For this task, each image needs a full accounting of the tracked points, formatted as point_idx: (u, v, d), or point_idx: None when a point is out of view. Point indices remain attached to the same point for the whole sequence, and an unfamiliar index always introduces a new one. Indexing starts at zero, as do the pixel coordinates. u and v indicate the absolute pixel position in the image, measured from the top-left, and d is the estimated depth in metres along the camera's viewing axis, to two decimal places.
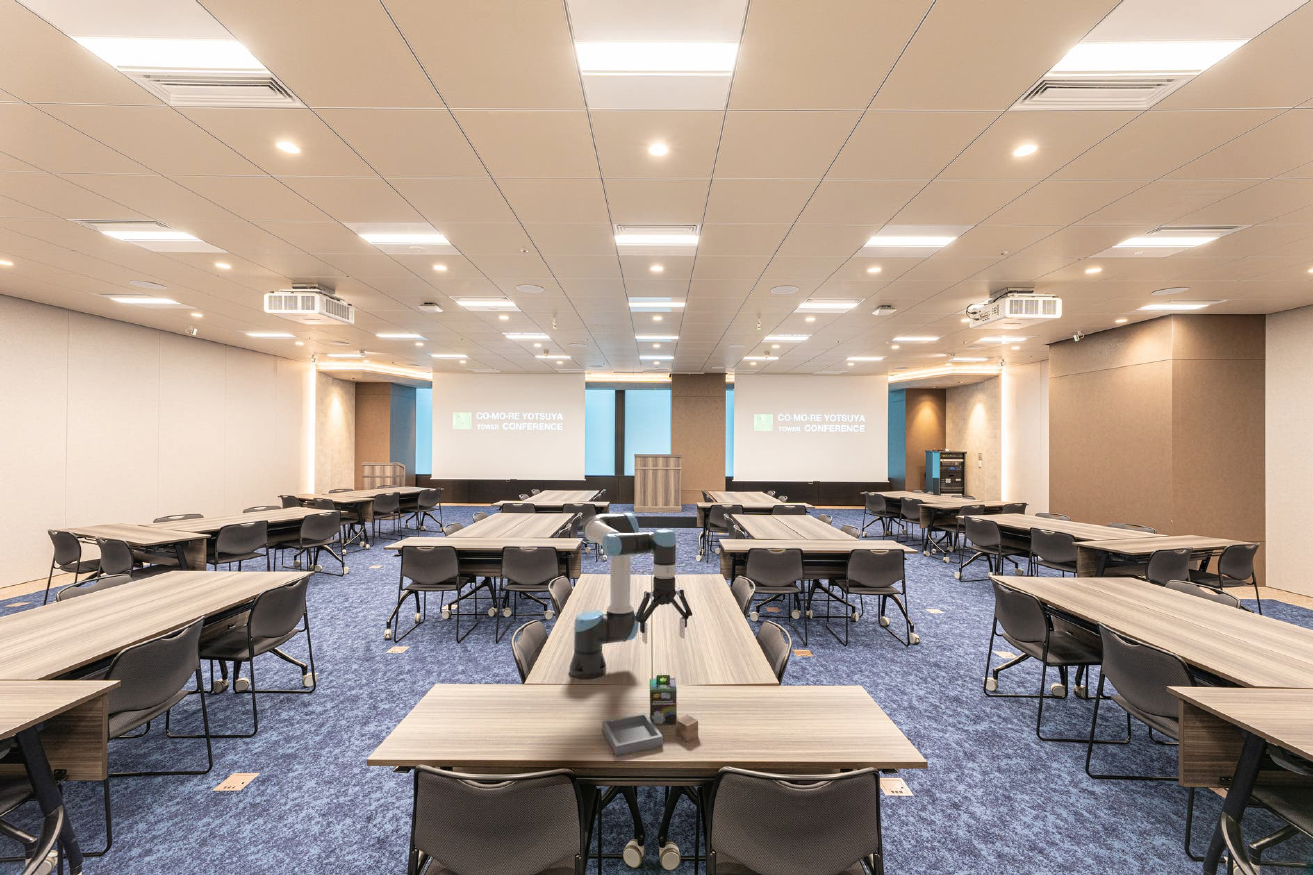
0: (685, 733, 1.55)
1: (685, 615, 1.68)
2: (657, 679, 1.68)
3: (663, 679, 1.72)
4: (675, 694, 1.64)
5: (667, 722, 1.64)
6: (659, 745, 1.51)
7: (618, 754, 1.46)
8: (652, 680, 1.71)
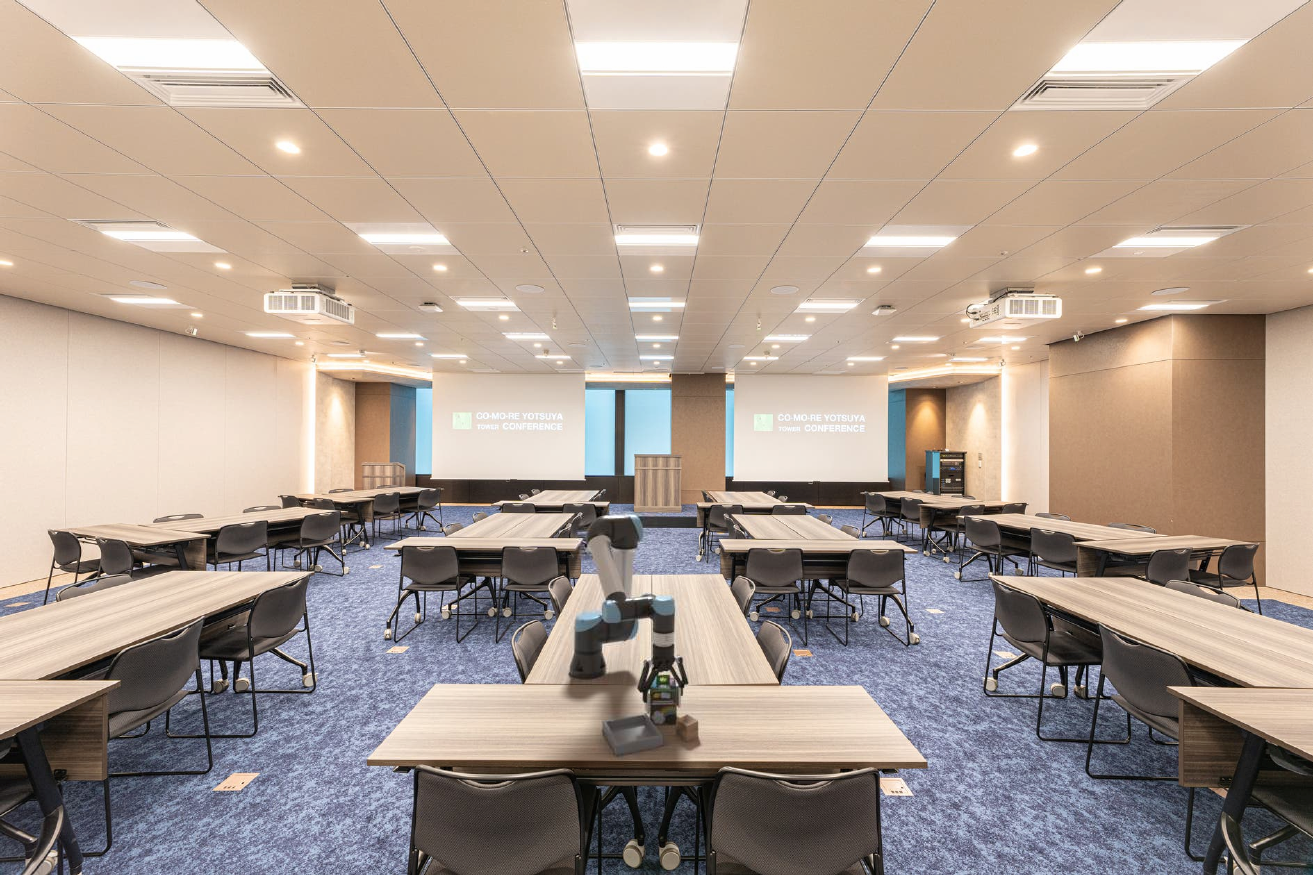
0: (685, 733, 1.55)
1: (681, 684, 1.70)
2: (657, 679, 1.68)
3: (663, 679, 1.72)
4: (675, 694, 1.64)
5: (667, 722, 1.64)
6: (659, 745, 1.51)
7: (618, 754, 1.46)
8: None
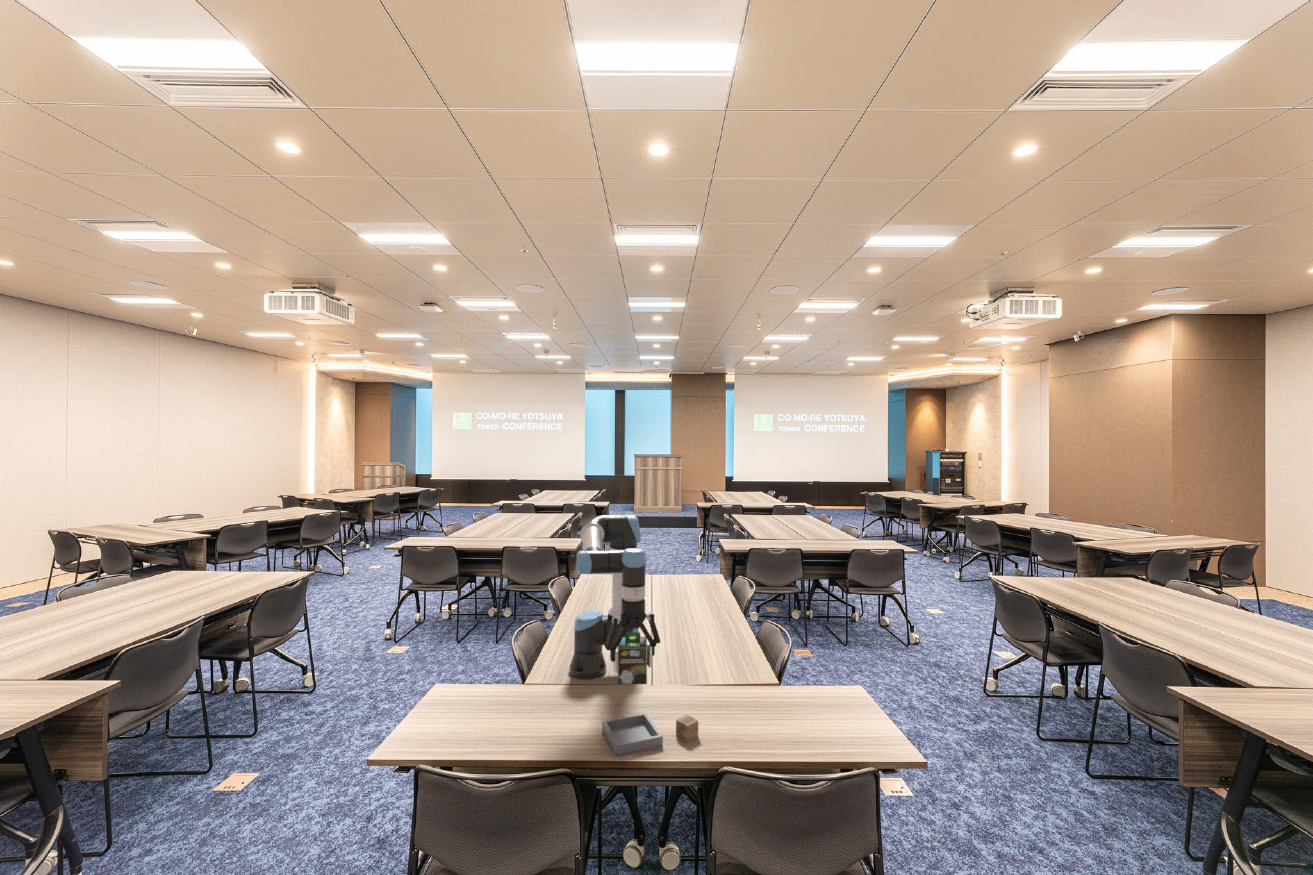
0: (685, 733, 1.55)
1: (653, 642, 1.58)
2: (626, 637, 1.56)
3: (633, 638, 1.60)
4: (645, 652, 1.53)
5: (636, 682, 1.52)
6: (659, 745, 1.51)
7: (618, 754, 1.46)
8: None
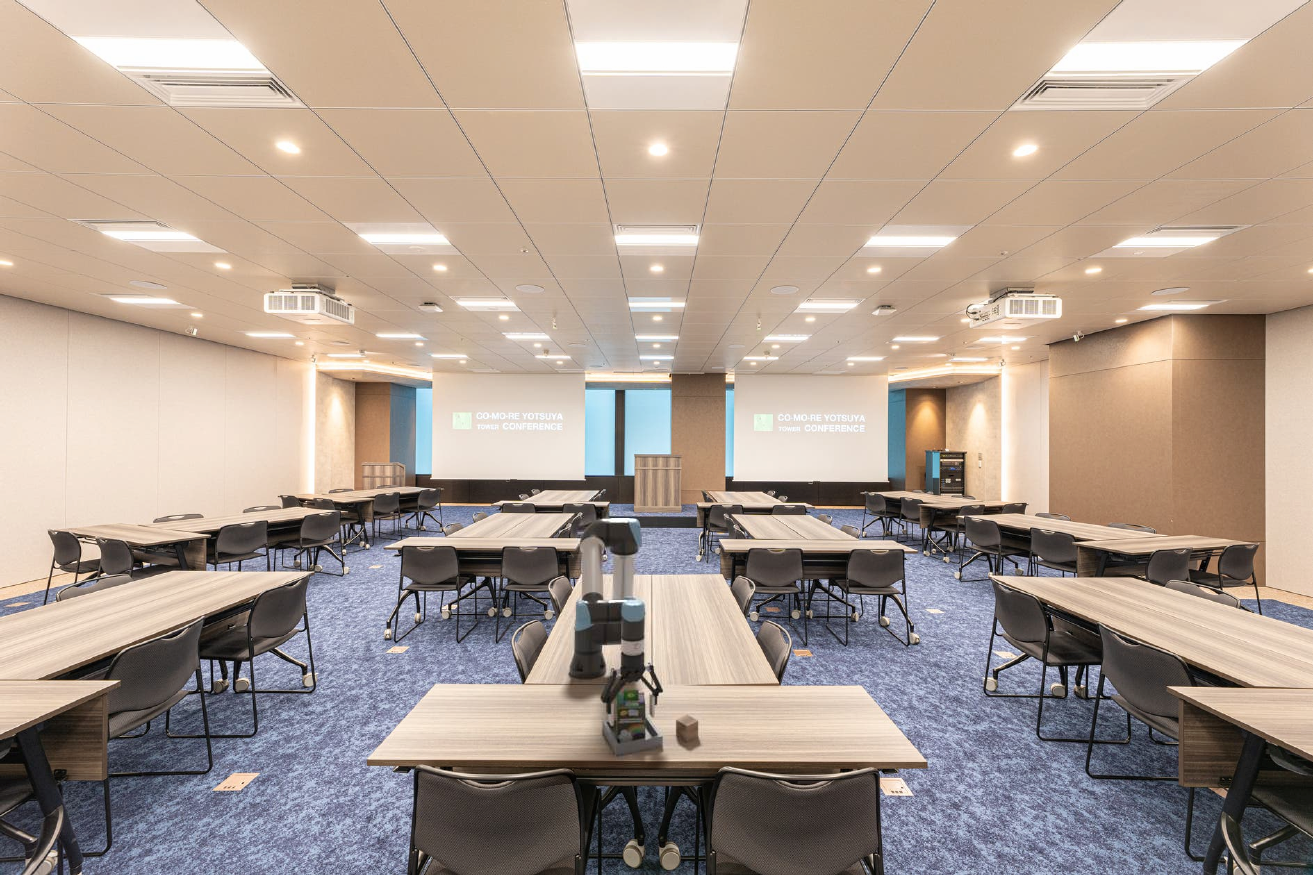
0: (685, 733, 1.55)
1: (655, 692, 1.58)
2: (625, 695, 1.55)
3: (631, 694, 1.59)
4: (644, 711, 1.52)
5: None
6: (659, 745, 1.51)
7: (618, 754, 1.46)
8: (619, 696, 1.58)
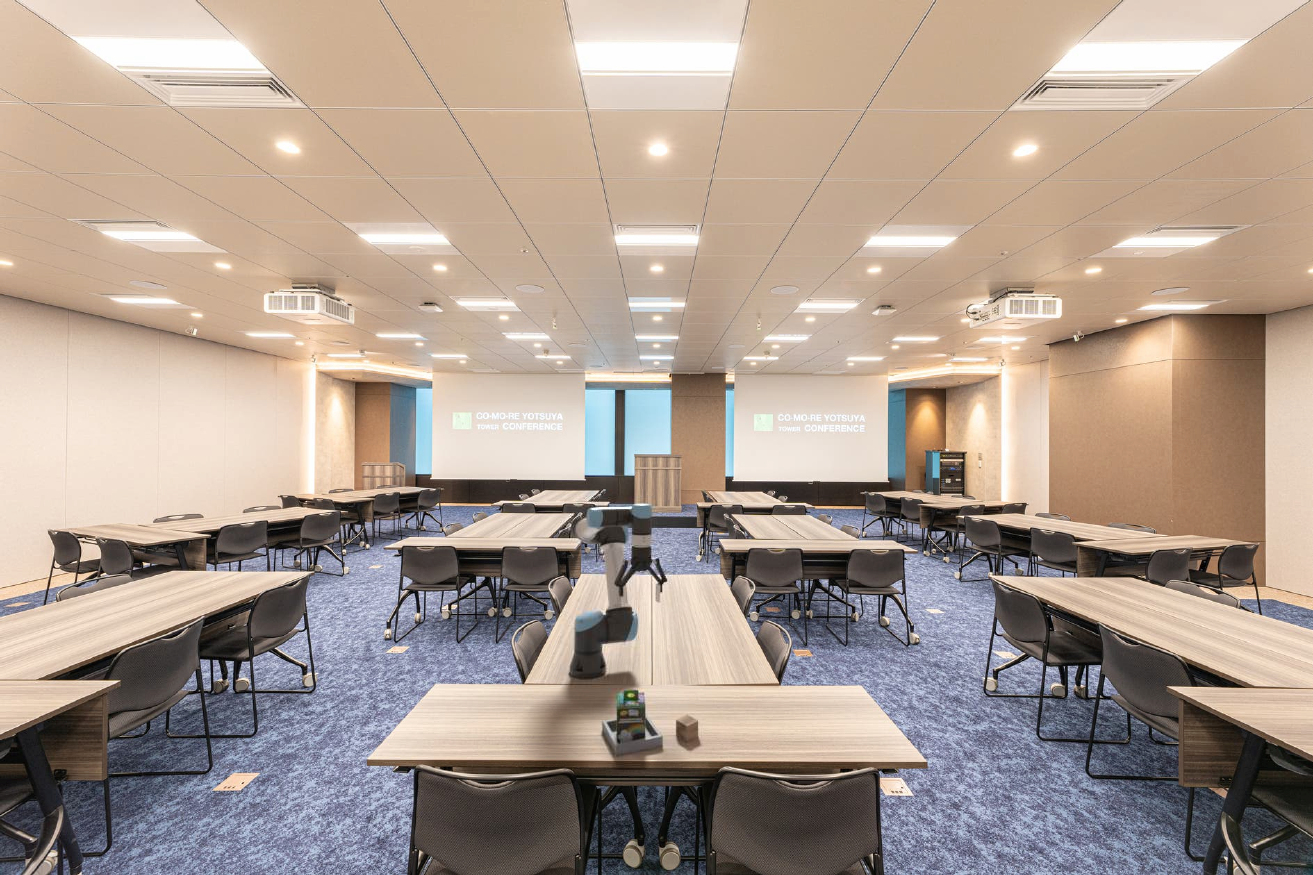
0: (685, 733, 1.55)
1: (660, 581, 1.85)
2: (625, 695, 1.55)
3: (631, 694, 1.59)
4: (644, 711, 1.52)
5: None
6: (659, 745, 1.51)
7: (618, 754, 1.46)
8: (619, 696, 1.58)
